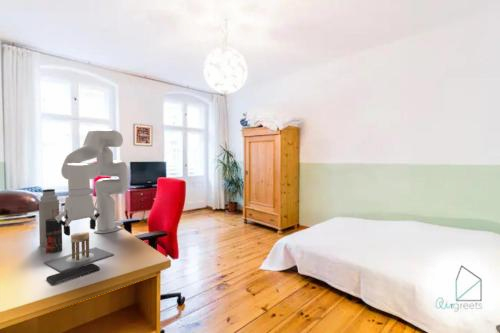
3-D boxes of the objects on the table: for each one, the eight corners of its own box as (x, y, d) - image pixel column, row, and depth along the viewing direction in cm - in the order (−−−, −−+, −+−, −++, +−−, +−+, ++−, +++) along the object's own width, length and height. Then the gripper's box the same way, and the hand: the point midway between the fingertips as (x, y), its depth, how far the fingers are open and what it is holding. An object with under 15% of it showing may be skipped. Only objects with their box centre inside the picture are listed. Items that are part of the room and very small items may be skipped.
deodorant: (65, 249, 116) (64, 218, 116) (51, 254, 110) (51, 221, 110) (56, 248, 118) (56, 217, 118) (43, 252, 112) (42, 220, 112)
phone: (100, 268, 94) (52, 283, 82) (100, 270, 94) (52, 286, 82) (92, 262, 99) (45, 276, 87) (92, 265, 99) (45, 280, 87)
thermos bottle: (63, 242, 127) (62, 188, 127) (48, 247, 119) (47, 190, 119) (51, 241, 129) (50, 188, 128) (35, 246, 121) (34, 190, 120)
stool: (85, 253, 109) (84, 231, 109) (92, 256, 106) (92, 233, 106) (68, 258, 104) (68, 235, 104) (75, 261, 100) (75, 237, 100)
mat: (95, 248, 117) (95, 247, 117) (113, 255, 109) (113, 253, 109) (44, 263, 100) (44, 261, 100) (60, 272, 92) (60, 270, 92)
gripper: (96, 189, 114) (97, 225, 114) (51, 194, 99) (52, 235, 100) (104, 190, 110) (105, 228, 110) (59, 196, 95) (60, 239, 96)
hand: (80, 231), depth 105 cm, fingers open, 9 cm apart
